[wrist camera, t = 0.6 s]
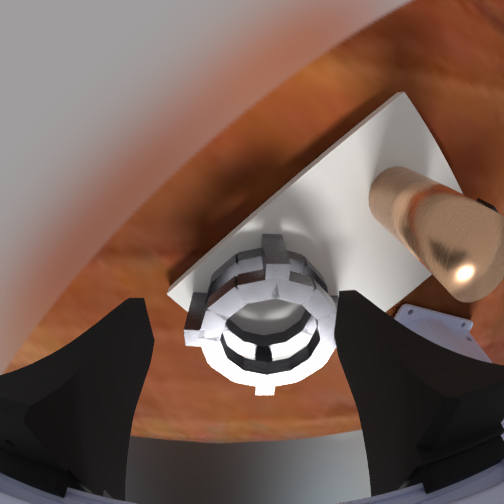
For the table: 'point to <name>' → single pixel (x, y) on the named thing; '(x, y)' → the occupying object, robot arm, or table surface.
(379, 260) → the base board
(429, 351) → the robot arm
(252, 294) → the collar stand
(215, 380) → the table surface
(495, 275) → the tube
